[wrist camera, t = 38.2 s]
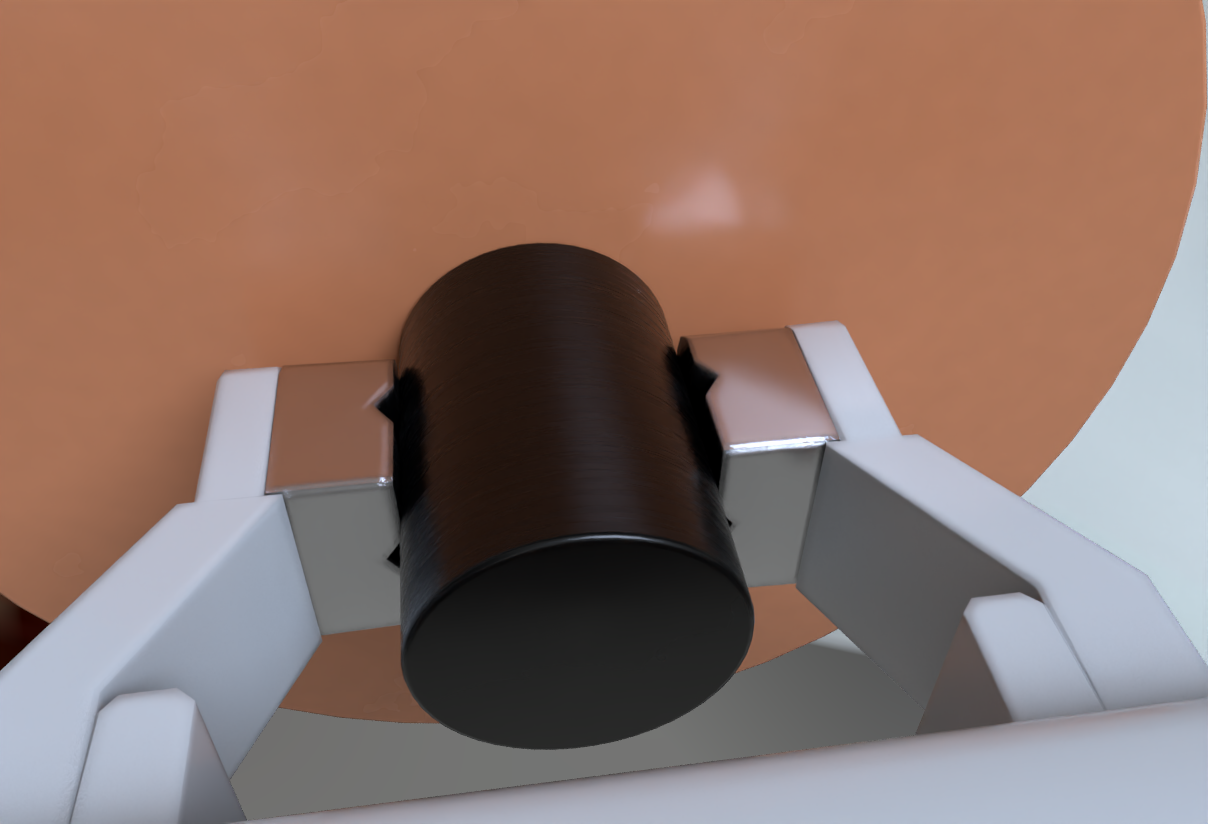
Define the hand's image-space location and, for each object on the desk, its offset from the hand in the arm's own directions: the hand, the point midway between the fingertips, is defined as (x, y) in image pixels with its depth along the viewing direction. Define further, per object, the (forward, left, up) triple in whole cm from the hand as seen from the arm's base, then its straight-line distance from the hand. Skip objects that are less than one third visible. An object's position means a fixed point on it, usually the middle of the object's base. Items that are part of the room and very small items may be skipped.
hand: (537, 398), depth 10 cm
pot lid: (0, 0, -1) cm, 1 cm away
